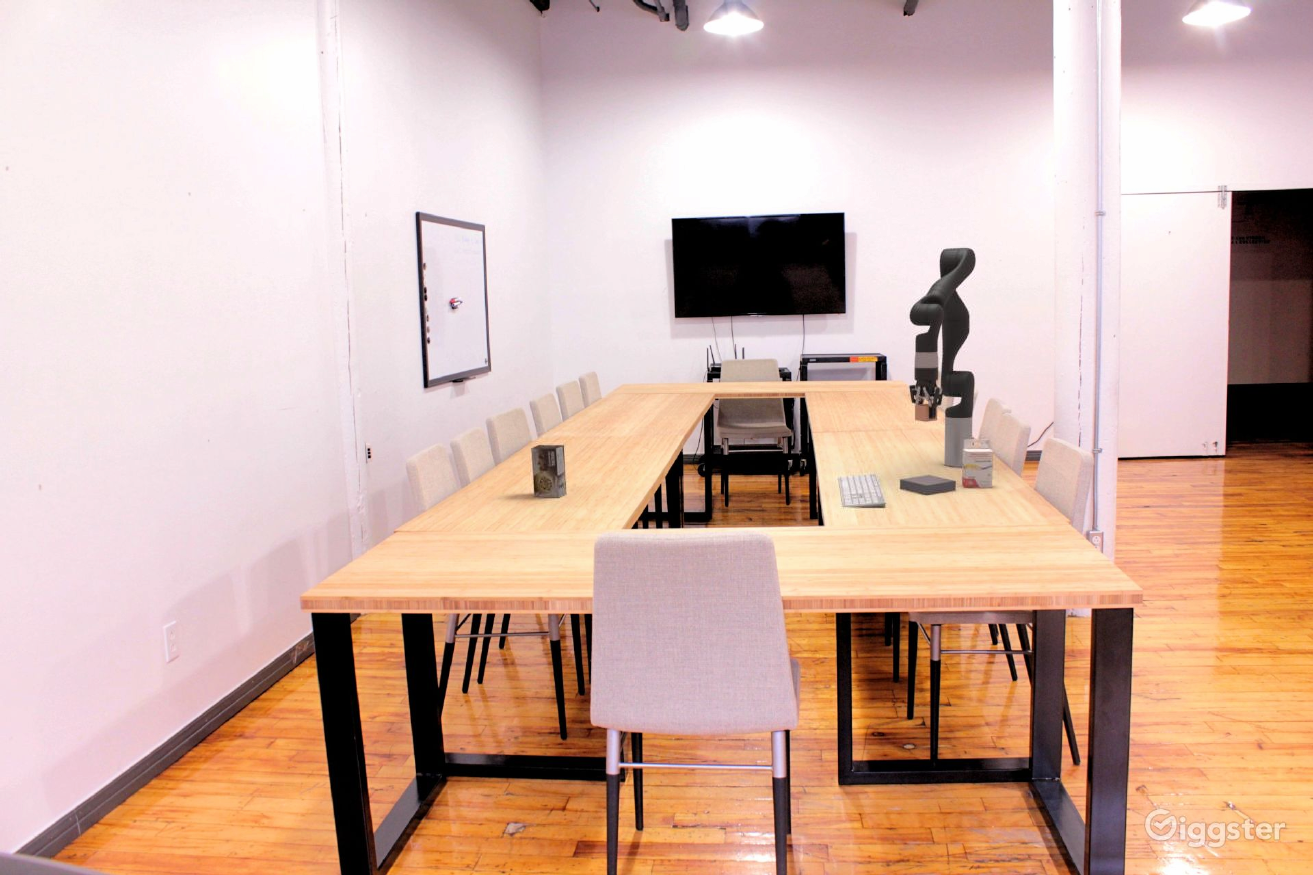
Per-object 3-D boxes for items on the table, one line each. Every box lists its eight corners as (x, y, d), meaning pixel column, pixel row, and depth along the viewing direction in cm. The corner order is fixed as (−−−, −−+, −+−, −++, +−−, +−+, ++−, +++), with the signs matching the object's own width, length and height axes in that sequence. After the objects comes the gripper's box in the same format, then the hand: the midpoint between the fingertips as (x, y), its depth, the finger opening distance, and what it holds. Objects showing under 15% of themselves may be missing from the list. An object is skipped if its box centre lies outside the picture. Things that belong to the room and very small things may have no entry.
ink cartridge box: (964, 487, 319) (965, 441, 317) (961, 484, 324) (962, 439, 322) (992, 487, 319) (993, 441, 316) (989, 484, 323) (990, 438, 321)
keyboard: (838, 480, 340) (838, 473, 340) (876, 480, 339) (876, 473, 338) (842, 509, 297) (842, 501, 297) (886, 509, 295) (886, 501, 295)
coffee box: (567, 493, 329) (565, 444, 326) (559, 498, 323) (556, 448, 320) (541, 492, 332) (539, 444, 329) (533, 496, 326) (530, 447, 323)
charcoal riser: (928, 484, 327) (928, 474, 326) (955, 490, 316) (955, 480, 316) (899, 488, 321) (899, 479, 321) (926, 495, 311) (926, 485, 310)
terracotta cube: (926, 418, 335) (926, 403, 334) (937, 420, 331) (937, 405, 330) (914, 420, 333) (915, 405, 332) (925, 421, 329) (925, 406, 328)
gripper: (951, 366, 325) (950, 418, 327) (920, 363, 337) (919, 414, 340) (933, 368, 321) (932, 421, 324) (902, 365, 334) (902, 416, 336)
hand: (926, 417), depth 332 cm, fingers closed on terracotta cube, 5 cm apart
